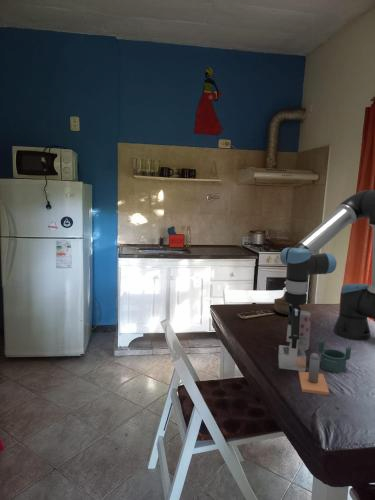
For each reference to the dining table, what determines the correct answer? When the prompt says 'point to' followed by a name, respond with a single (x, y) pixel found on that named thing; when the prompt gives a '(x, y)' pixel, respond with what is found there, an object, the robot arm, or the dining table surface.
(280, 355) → the white square sleeve
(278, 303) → the bowl
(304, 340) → the beverage can
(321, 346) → the bracket
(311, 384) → the keeper
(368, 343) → the dining table surface
